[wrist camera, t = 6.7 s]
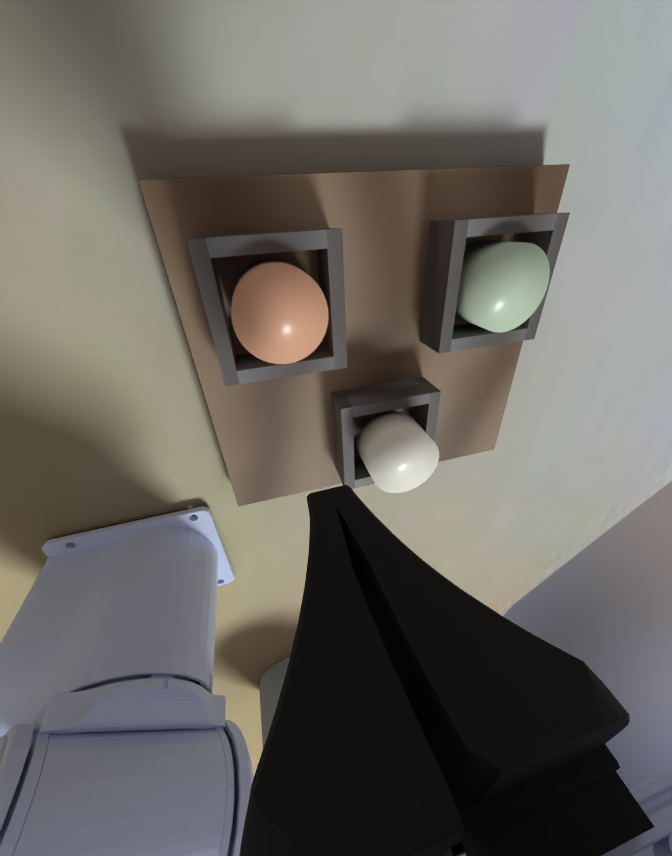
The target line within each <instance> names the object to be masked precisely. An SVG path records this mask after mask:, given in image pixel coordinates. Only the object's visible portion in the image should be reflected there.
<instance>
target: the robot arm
mask: <svg viewBox="0 0 672 856" xmlns="http://www.w3.org/2000/svg"><path fill="white" fill-rule="evenodd" d="M307 502H308V508H309V514H310V540H309V556H308V564H307V573H306V581H305V588H304V594H303V600H302V605H301V610H300V616H299V621H298V625H297V630H296V634H295V639H294V643H293V648H292V652H291V656H290V660H289V664H288V668H287V671H286V675H285V678H284V682H283V685H282V689H281V693H280V696H279V700H278V703H277V707H276V710H275V714H274V717H273V720H272V724H271V727H270V730H269V733H268V736H267V739H266V742H265V745H264V748H263V751H262V754H261V758H260V761H259V764H258V767H257V770H256V773H255V776H254V779H253V771H252V765H251V760H250V756H249V752H248V749H247V745H246V742H245V739H244V737H243V734H242V732H241V730H240V729H239V727H238V726H237V725H236V724H235V723H233V722H232V721H230V720H225V701H226V697H225V696H220V695H214V694H212V687H213V666H214V645H215V624H216V603H217V586H221V585H224V584H228V583H231V582H232V581H234V572H233V569H232V567H231V564H230V561H229V559H228V556H227V553H226V551H225V548H224V546H223V543H222V540H221V538H220V535H219V532H218V530H217V527H216V524H215V522H214V519H213V516H212V514H211V511H210V509H209V508H207V507H197V508H192V509H188V510H183V511H178V512H174V513H169V514H165V515H160V516H156V517H151V518H146V519H142V520H137V521H133V522H128V523H124V524H119V525H114V526H110V527H105V528H101V529H96V530H92V531H87V532H82V533H78V534H73V535H69V536H64V537H60V538H55V539H50V540H48V541H46V542H45V543H44V544H43V546H42V551H43V552H44V553H45V555H46V556H47V557H48V559H47V561H46V563H45V564H44V566H43V568H42V570H41V572H40V573H39V575H38V577H37V579H36V581H35V582H34V584H33V586H32V588H31V590H30V591H29V593H28V595H27V597H26V598H25V600H24V602H23V604H22V606H21V607H20V609H19V611H18V613H17V615H16V616H15V618H14V620H13V622H12V624H11V625H10V627H9V629H8V631H7V633H6V634H5V636H4V638H3V640H2V641H1V643H0V856H632V855H634V854H636V853H638V852H639V851H641V850H643V849H645V848H647V847H649V846H650V845H652V844H653V851H654V855H655V856H672V769H671V770H669V771H667V772H665V773H663V774H661V775H659V776H657V777H655V778H653V779H651V780H649V781H647V782H645V783H643V784H641V785H639V786H637V787H635V788H633V789H631V790H629V789H628V788H627V787H626V785H625V784H624V782H623V781H622V780H621V778H620V777H619V775H618V774H617V772H616V770H617V769H619V768H620V767H619V764H618V762H617V760H616V759H615V758H614V756H613V755H612V753H611V752H610V751H609V749H608V748H607V746H606V745H605V743H606V742H608V741H609V740H610V739H611V738H613V737H614V736H615V735H616V734H618V733H619V732H620V731H621V730H623V729H624V728H625V727H626V726H627V725H628V723H629V714H628V713H627V711H626V710H625V709H624V708H623V706H622V705H621V704H620V703H619V702H618V700H617V699H616V698H615V697H614V695H613V694H612V693H611V692H610V690H609V689H608V688H607V687H606V686H605V685H604V683H603V682H602V681H601V680H600V679H599V678H598V677H597V676H596V675H595V674H594V673H593V672H592V671H591V670H590V669H589V667H588V666H587V665H586V664H585V663H584V662H583V661H581V660H579V659H578V658H576V657H574V656H572V655H570V654H568V653H566V652H564V651H562V650H561V649H559V648H557V647H555V646H553V645H551V644H549V643H548V642H546V641H544V640H542V639H540V638H539V637H537V636H535V635H533V634H532V633H530V632H528V631H526V630H525V629H523V628H521V627H520V626H518V625H516V624H514V623H513V622H511V621H510V620H508V619H506V618H504V617H503V616H501V615H500V614H498V613H497V612H495V611H493V610H492V609H490V608H489V607H487V606H486V605H484V604H483V603H481V602H480V601H478V600H477V599H475V598H474V597H472V596H471V595H469V594H467V593H466V592H464V591H463V590H462V589H460V588H459V587H457V586H456V585H455V584H453V583H452V582H450V581H449V580H448V579H446V578H445V577H444V576H442V575H441V574H440V573H438V572H437V571H436V570H435V569H433V568H432V567H431V566H429V565H428V564H427V563H426V562H424V561H423V560H422V559H421V558H420V557H418V556H417V555H416V554H415V553H414V552H413V551H411V550H410V549H409V548H408V547H407V546H406V545H405V544H403V543H402V542H401V541H400V540H399V539H398V538H397V537H396V536H395V535H394V534H393V533H392V532H391V531H390V530H389V529H388V528H387V527H386V526H385V525H384V524H383V523H382V522H381V521H380V520H379V519H378V518H377V517H376V516H375V515H374V514H373V513H372V512H371V511H370V510H369V509H368V508H367V507H366V506H365V504H364V503H363V502H362V501H361V500H360V499H359V497H358V496H357V495H356V494H355V493H354V491H353V490H352V489H351V487H350V486H348V485H343V486H339V487H335V488H331V489H327V490H323V491H318V492H314V493H310V494H309V495H308V496H307ZM191 515H196V516H191Z"/></svg>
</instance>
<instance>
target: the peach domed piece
mask: <svg viewBox="0 0 672 856" xmlns="http://www.w3.org/2000/svg"><path fill="white" fill-rule="evenodd" d="M231 318H232V324H233V328H234V331H235V333H236V335H237V337H238V339H239V341H240V342H241V344H242V345H243V346H244V347H245V348H246V349H247V350H248V351H249V352H250V353H251V354H252V355H254V356H255V357H257V358H259V359H261V360H263V361H266V362H269V363H274V364H289V363H294V362H297V361H300V360H302V359H304V358H305V357H307V356H308V355H310V354H311V353H312V352H313V351H314V350H315V349H316V348H317V347H318V346H319V344H320V343H321V341H322V339H323V338H324V335H325V333H326V330H327V326H328V306H327V302H326V299H325V296H324V294H323V292H322V290H321V288H320V287H319V286H318V284H317V283H316V282H315V281H314V280H313V279H312V278H311V277H310V276H309V275H308V274H306V273H305V272H304V271H302V270H301V269H299V268H298V267H296V266H295V265H293V264H291V263H289V262H287V261H284V260H280V259H263V260H260V261H257V262H255V263H253V264H251V265H249V266H248V267H247V268H246V269H244V270H243V271H242V273H241V274H240V275H239V277H238V278H237V280H236V282H235V285H234V288H233V292H232V305H231Z"/></svg>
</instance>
